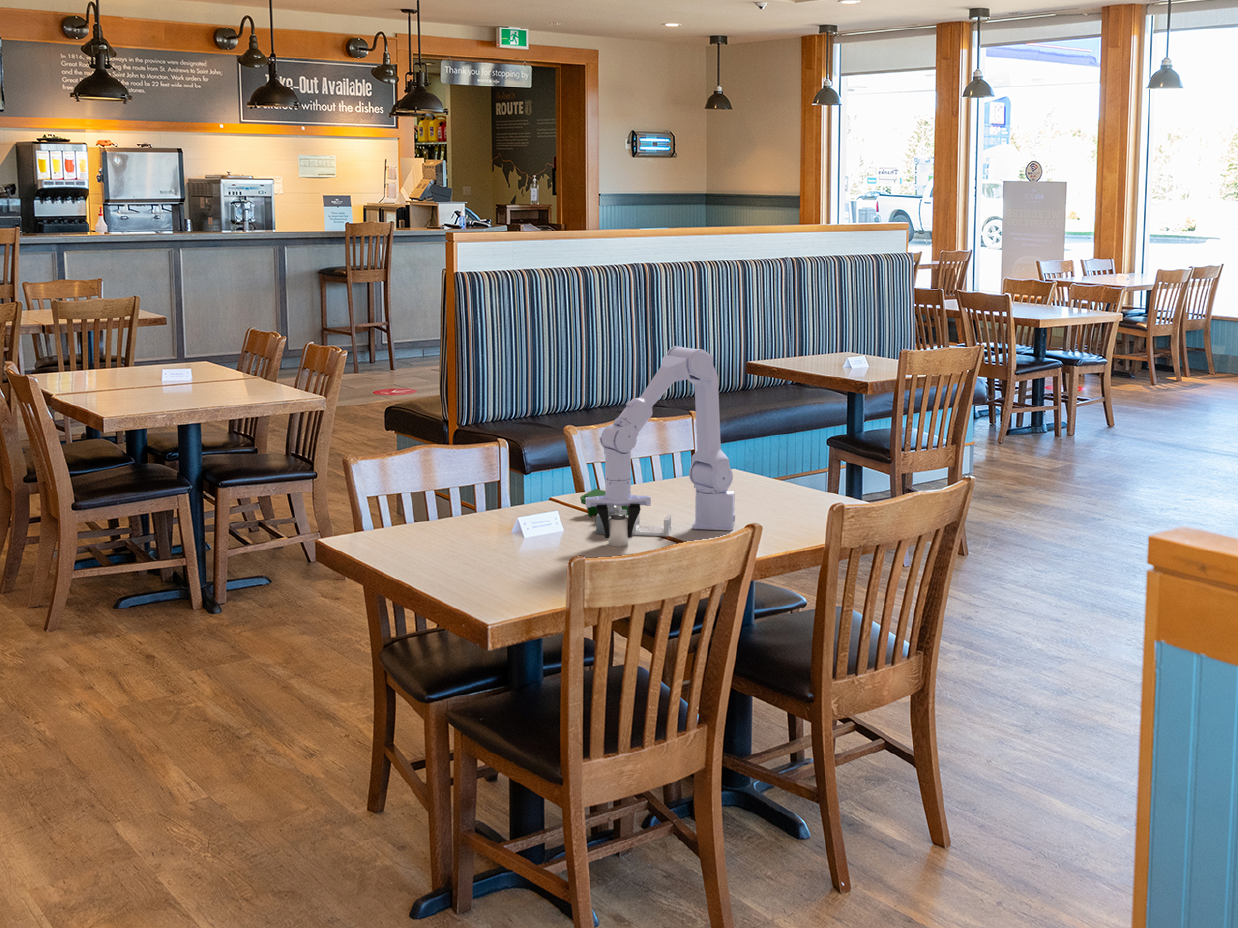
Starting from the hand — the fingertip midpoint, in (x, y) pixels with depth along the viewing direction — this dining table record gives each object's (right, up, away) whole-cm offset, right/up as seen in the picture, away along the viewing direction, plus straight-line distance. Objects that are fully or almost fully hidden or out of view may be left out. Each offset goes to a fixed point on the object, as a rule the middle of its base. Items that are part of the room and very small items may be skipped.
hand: (618, 536), depth 278 cm
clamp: (-4, +3, +25) cm, 26 cm away
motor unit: (+4, +1, +11) cm, 11 cm away
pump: (0, -2, 0) cm, 2 cm away
